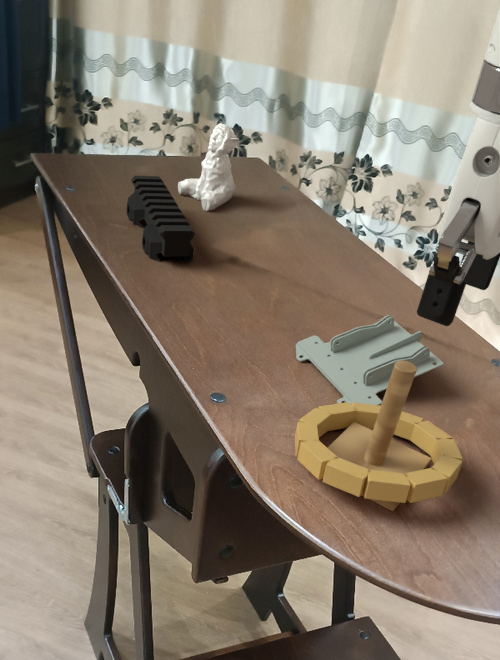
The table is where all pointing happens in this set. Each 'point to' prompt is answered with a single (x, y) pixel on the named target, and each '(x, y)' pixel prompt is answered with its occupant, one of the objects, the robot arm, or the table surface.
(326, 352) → the metal bracket
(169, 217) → the rail mount
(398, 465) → the peg
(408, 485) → the ring
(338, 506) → the table surface
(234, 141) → the seated beast figurine
